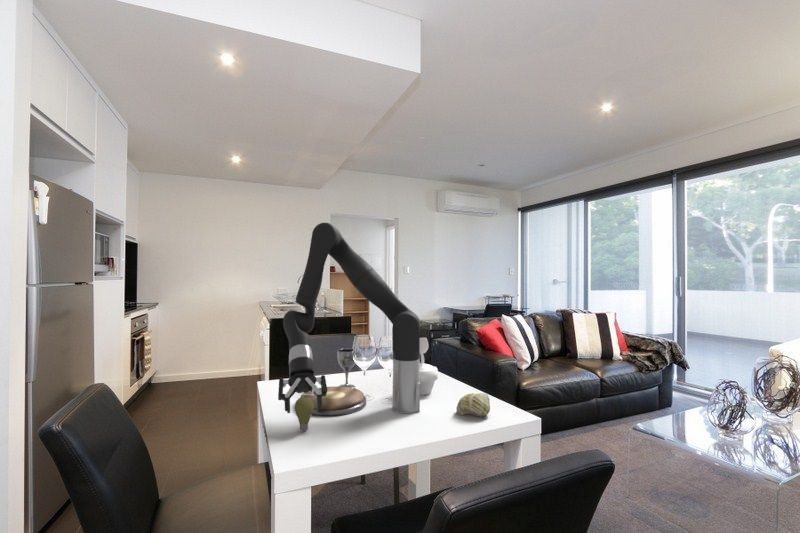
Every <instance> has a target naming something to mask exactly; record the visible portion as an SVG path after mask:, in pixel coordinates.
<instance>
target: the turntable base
mask: <svg viewBox="0 0 800 533" xmlns="http://www.w3.org/2000/svg"><path fill="white" fill-rule="evenodd" d="M365 407H367V397H366V396H365V395H364V399H363V401H362V403H360V404H358V405H356V406H354V407H350V408H346V409H340V410H316V409H314V410H313V412H312V414H311V416H314V417H325V418H326V417H339V416H346V415H351V414H354V413H357V412H359V411H362V410H363V409H364V408H365Z"/></svg>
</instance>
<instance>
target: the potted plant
mask: <svg viewBox="0 0 800 533" xmlns="http://www.w3.org/2000/svg"><path fill="white" fill-rule="evenodd" d="M431 337H433V334H431ZM435 343H436V346H437V344H438V341H437V340H435ZM429 345H430V344H429V341H428V339H427V337H420V360H421V361H420V374H419V382H420V396H427V395H429V394H431V393H432V391H433V388H434V386H435V382H436V381H437V380H438V373H439V372H438V371H439V370H438V368H437V366H433V365H431V364H428V363H425V356H424V355H425V354H426V353H427V351H428V349H430V348H429ZM433 346H435V344H434V342H433Z"/></svg>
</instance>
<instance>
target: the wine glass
mask: <svg viewBox="0 0 800 533" xmlns="http://www.w3.org/2000/svg"><path fill="white" fill-rule="evenodd" d="M353 349H354V348H348V347H346V348H339V349H337V353H336V354H337V362H338V365H339V366H340V368H342V369H343V371H344V374H345V383H343V384H340V386H339V385H337V387H350V388H354V387H355V388H356V385H355V384H350V383H349V382H348V378H349V373H350V371H351V369H352V368H353V367H354V366H355V365H356V362H354V360H353ZM354 385H355V386H354Z"/></svg>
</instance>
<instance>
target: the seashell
mask: <svg viewBox="0 0 800 533" xmlns="http://www.w3.org/2000/svg"><path fill="white" fill-rule="evenodd" d="M490 411H491V403H490V397H489V394H488V393H482V392H480V393H479V392H478V393H467V394H465V395H464V396H462V397H461V398H460V399H459V401H458V402H457V406H456V413H457V415H458V416H464V415H467V414H471V415H474V416H475V417H476V416H477V417H480V418H482V417H487V415H489V413H490Z"/></svg>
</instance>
